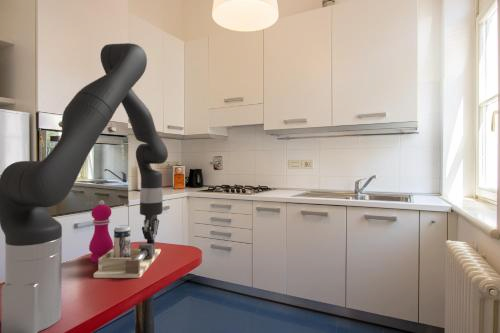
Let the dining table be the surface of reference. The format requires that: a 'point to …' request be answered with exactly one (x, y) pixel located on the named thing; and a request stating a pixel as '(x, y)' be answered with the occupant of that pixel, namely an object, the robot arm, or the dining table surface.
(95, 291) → the dining table surface
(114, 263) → the birch holder
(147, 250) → the silver and grey bar
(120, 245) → the beer can
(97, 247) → the pink pepper grinder
